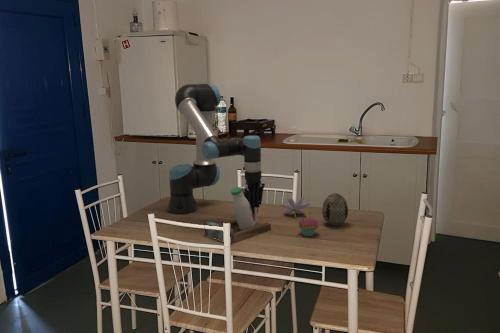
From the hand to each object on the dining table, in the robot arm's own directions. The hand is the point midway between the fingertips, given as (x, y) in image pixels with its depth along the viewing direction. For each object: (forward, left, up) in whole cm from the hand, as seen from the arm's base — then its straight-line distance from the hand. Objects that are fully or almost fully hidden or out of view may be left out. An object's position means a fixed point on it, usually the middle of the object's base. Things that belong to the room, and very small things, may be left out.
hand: (254, 220), depth 205 cm
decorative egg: (+25, +28, -3) cm, 37 cm away
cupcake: (+24, +10, -3) cm, 26 cm away
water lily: (+2, +26, -3) cm, 27 cm away
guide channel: (0, -10, -3) cm, 10 cm away
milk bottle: (0, -4, -2) cm, 5 cm away
